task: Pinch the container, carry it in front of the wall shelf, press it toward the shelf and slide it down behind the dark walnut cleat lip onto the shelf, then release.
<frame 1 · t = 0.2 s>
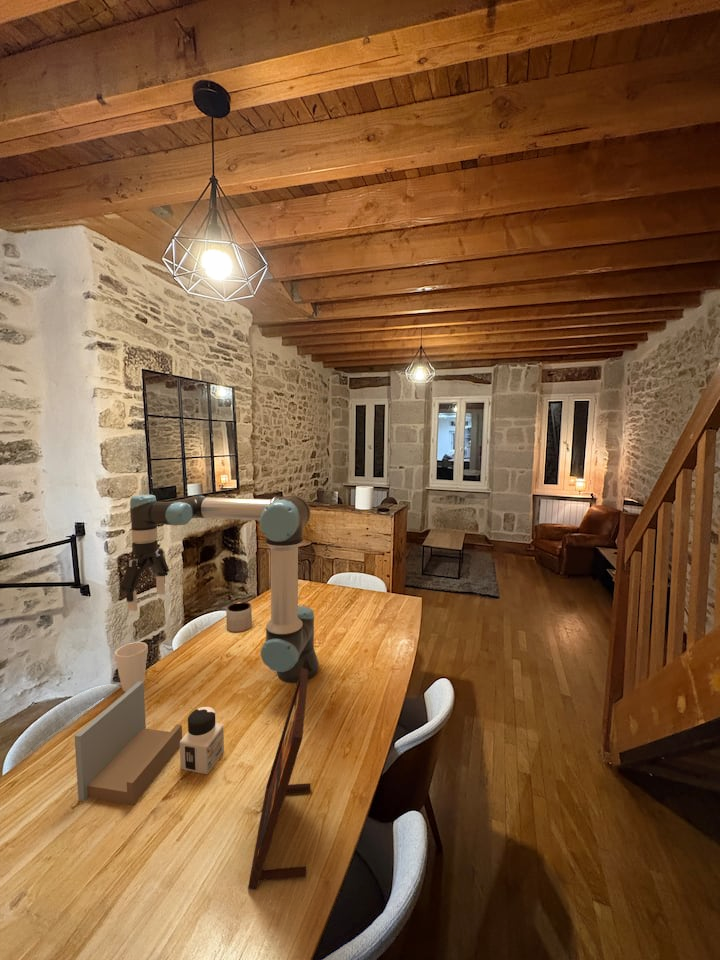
hand: (147, 601, 129), 28 cm above the table, fingers open, 13 cm apart
foam cup: (133, 686, 128), on the table
picture frame: (283, 831, 80), on the table
container: (202, 760, 98), on the table
planter: (239, 627, 170), on the table
wall shelf: (136, 768, 95), on the table
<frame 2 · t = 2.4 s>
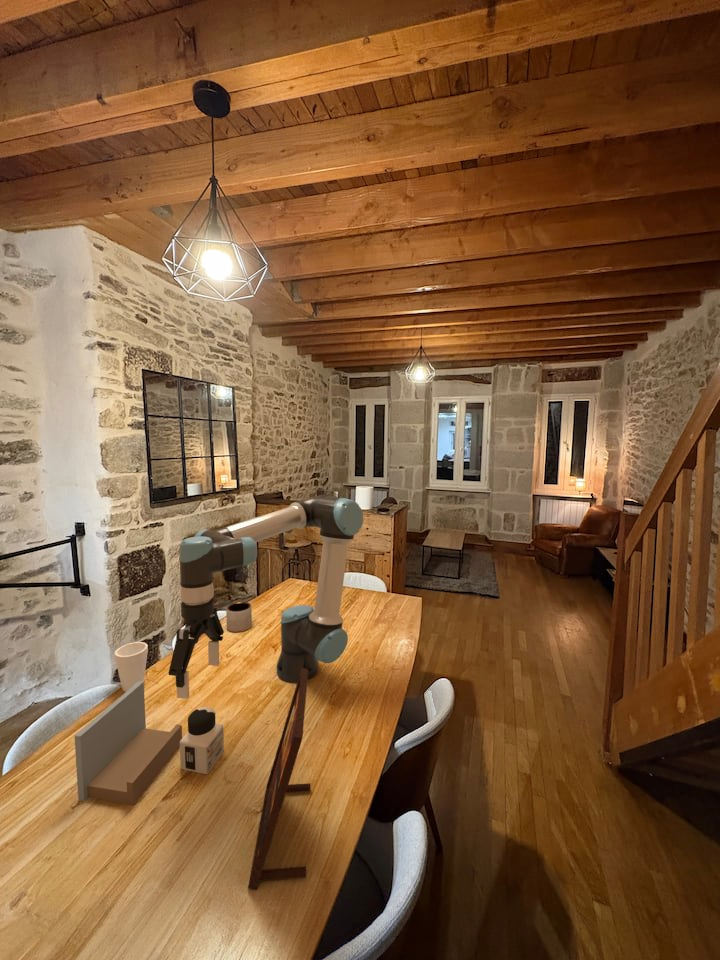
hand: (199, 680, 96), 22 cm above the table, fingers open, 13 cm apart
nothing on the table moved.
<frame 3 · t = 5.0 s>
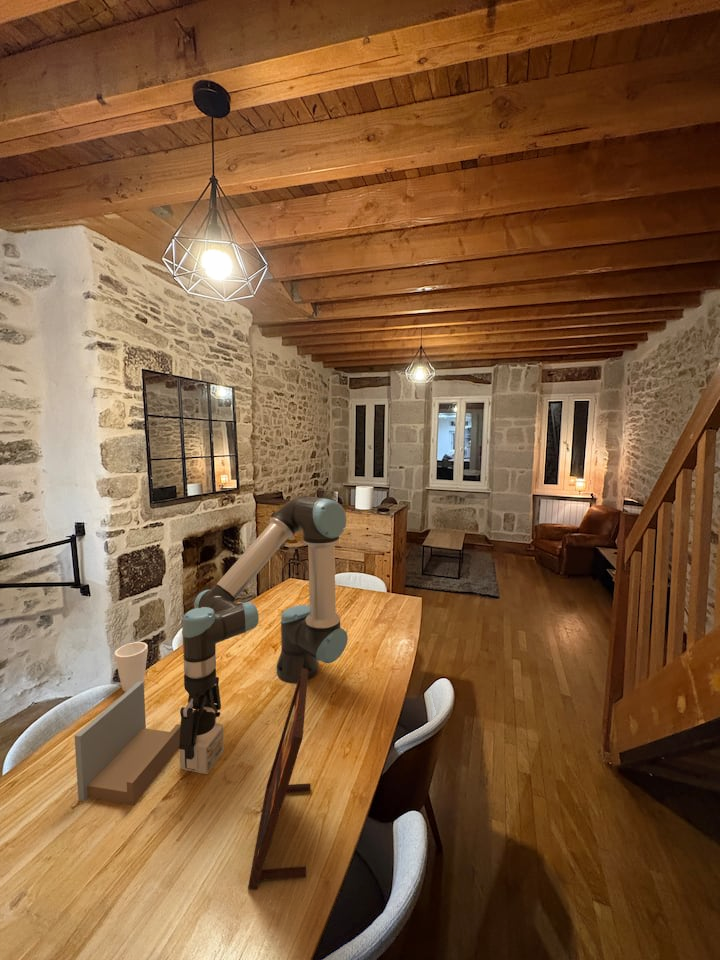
hand: (202, 753, 98), 2 cm above the table, fingers closed on container, 8 cm apart
container: (202, 760, 98), on the table, touching gripper
everything else where it was.
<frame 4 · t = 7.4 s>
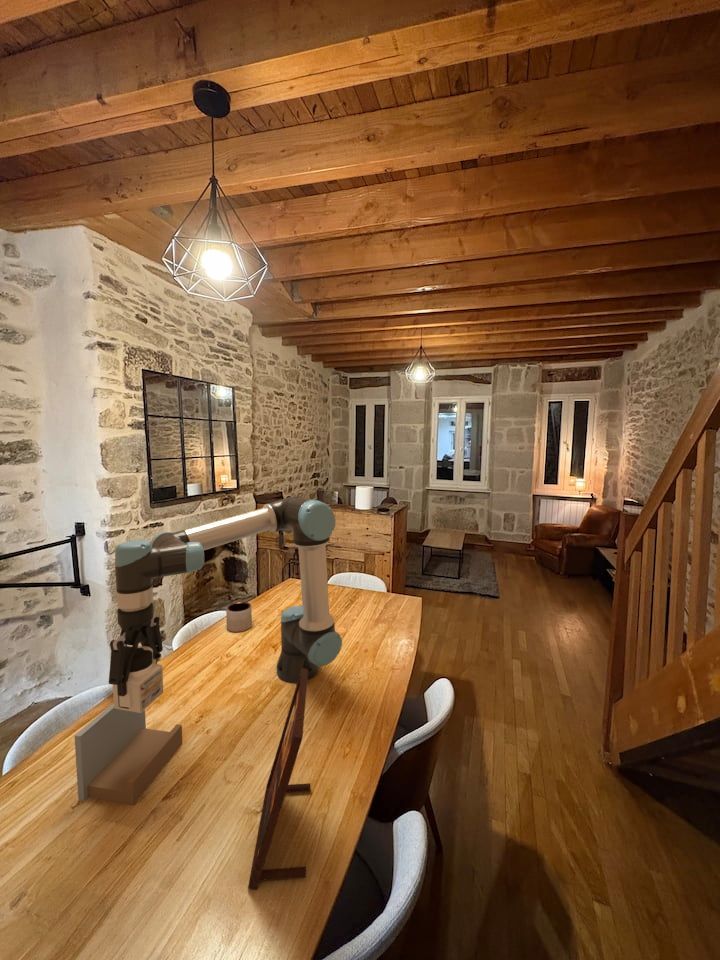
hand: (139, 694, 93), 20 cm above the table, fingers closed on container, 8 cm apart
container: (139, 701, 93), point 18 cm above the table, touching gripper
everything else where it was.
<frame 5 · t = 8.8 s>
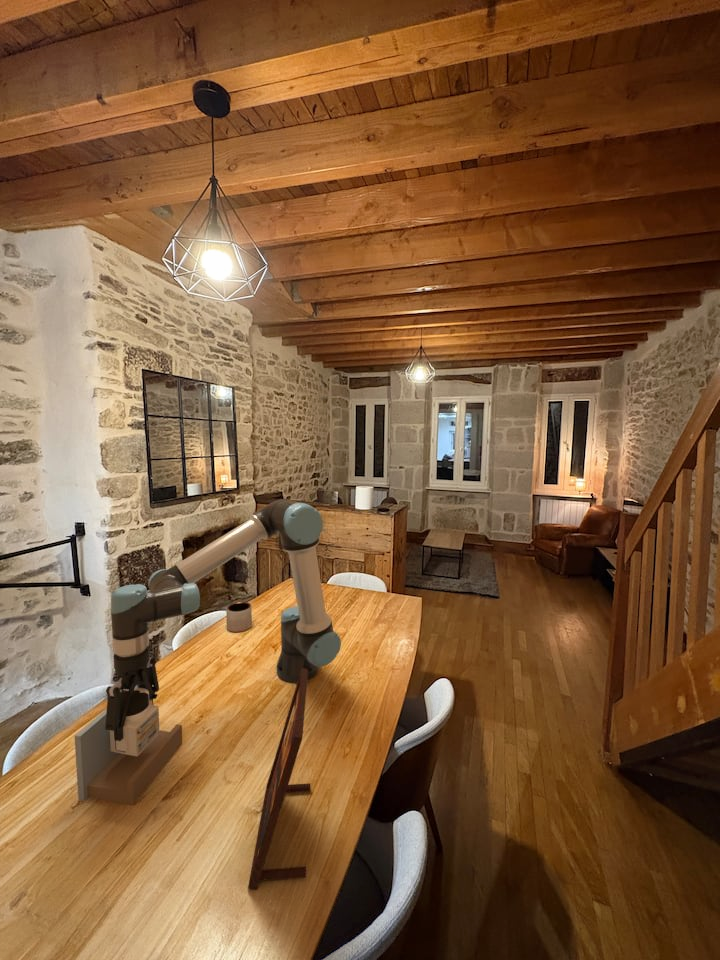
hand: (135, 735, 95), 9 cm above the table, fingers closed on container, 8 cm apart
container: (135, 743, 95), point 7 cm above the table, touching gripper
everything else where it was.
when the fingers open (6 cm above the table, at t = 9.9 s): container drops 1 cm, resting on wall shelf.
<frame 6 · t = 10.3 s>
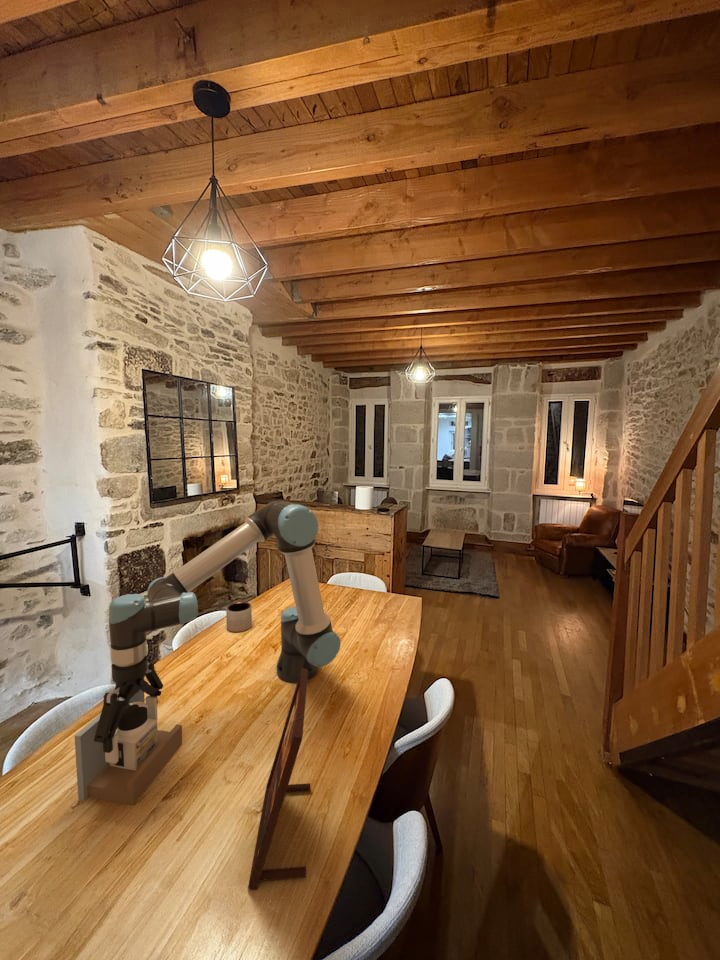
hand: (133, 739, 95), 8 cm above the table, fingers open, 13 cm apart
container: (134, 757, 95), point 3 cm above the table, touching wall shelf
everything else where it was.
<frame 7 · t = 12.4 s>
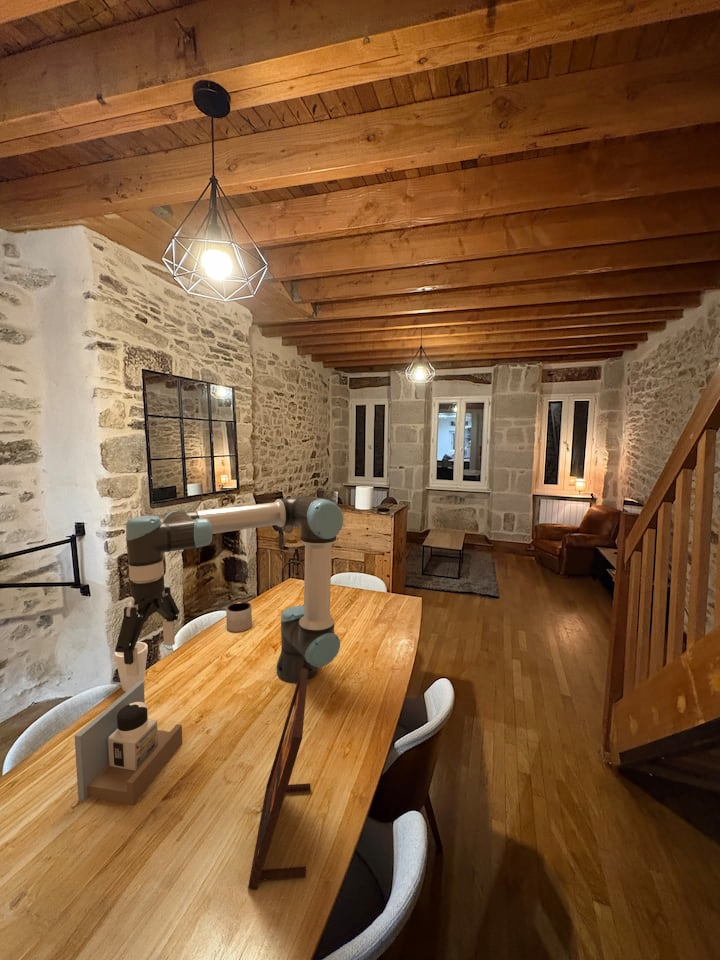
hand: (152, 658, 97), 27 cm above the table, fingers open, 13 cm apart
nothing on the table moved.
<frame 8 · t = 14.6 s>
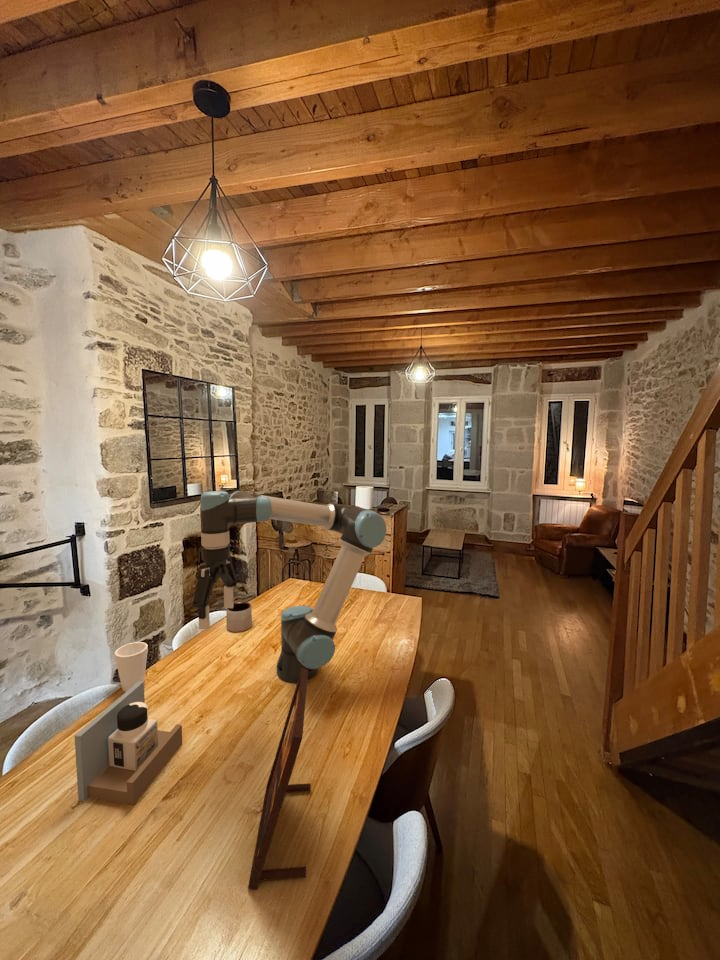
hand: (217, 617, 109), 32 cm above the table, fingers open, 13 cm apart
nothing on the table moved.
at the end: container inside the target area on the wall shelf (0.4 cm from its centre), point 2.8 cm above the wall shelf's base; container tilted 0°; the gripper is holding nothing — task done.
